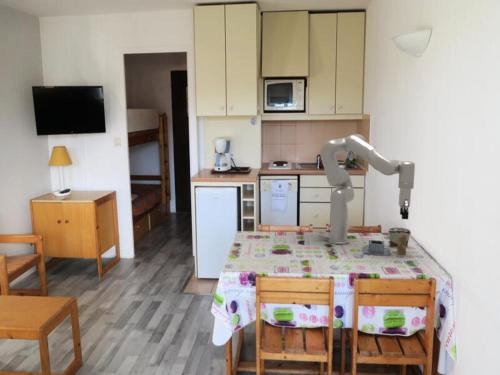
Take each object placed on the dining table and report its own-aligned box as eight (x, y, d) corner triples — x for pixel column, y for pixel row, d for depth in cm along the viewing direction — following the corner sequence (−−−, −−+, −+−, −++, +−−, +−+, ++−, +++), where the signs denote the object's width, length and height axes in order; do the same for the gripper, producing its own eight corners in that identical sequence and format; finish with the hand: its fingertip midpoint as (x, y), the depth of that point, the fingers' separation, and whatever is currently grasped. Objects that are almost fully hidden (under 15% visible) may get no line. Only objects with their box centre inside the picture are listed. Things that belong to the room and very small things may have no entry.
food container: (407, 244, 251) (408, 227, 249) (410, 247, 245) (411, 230, 243) (385, 243, 252) (386, 227, 250) (387, 247, 246) (388, 230, 244)
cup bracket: (362, 254, 234) (363, 244, 233) (362, 247, 246) (363, 238, 245) (390, 256, 231) (390, 246, 230) (389, 249, 242) (389, 240, 241)
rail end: (397, 254, 234) (398, 236, 232) (397, 252, 237) (398, 234, 236) (405, 255, 233) (406, 237, 231) (404, 252, 236) (405, 235, 235)
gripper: (397, 182, 238) (395, 212, 241) (399, 187, 221) (397, 220, 224) (411, 182, 236) (409, 213, 239) (415, 188, 219) (413, 221, 222)
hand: (403, 216), depth 232 cm, fingers open, 9 cm apart
